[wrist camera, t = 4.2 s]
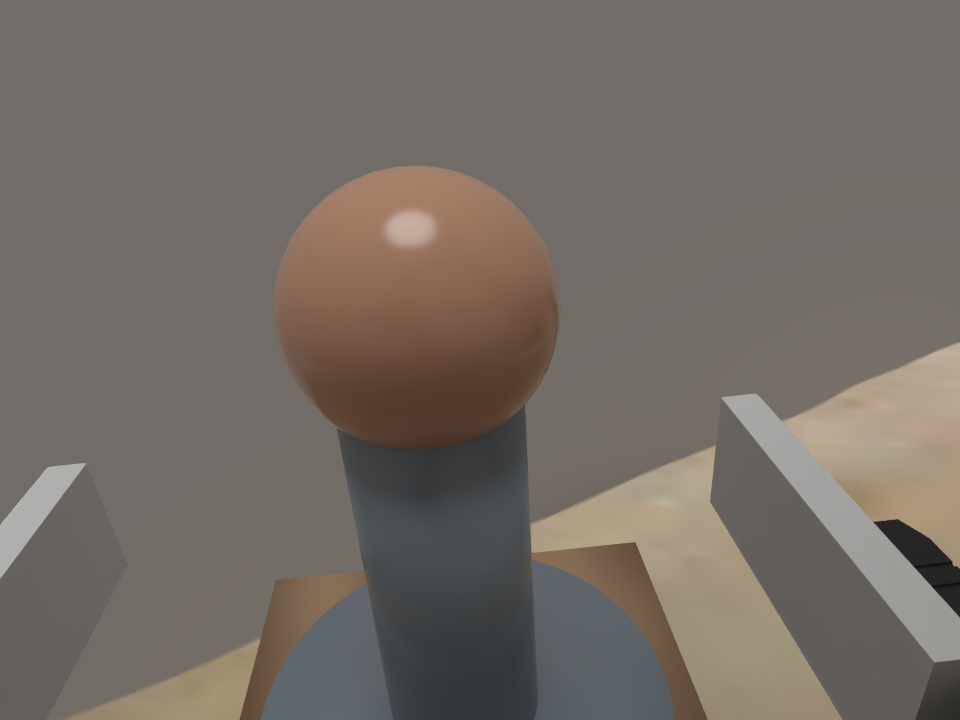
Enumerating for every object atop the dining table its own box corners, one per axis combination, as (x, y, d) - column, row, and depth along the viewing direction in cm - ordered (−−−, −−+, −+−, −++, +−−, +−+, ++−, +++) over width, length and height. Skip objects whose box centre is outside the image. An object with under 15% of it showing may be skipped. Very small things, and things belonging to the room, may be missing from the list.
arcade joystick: (613, 566, 22) (625, 108, 16) (743, 940, 13) (893, 224, 7) (301, 600, 22) (186, 143, 15) (216, 1008, 13) (-145, 317, 6)
